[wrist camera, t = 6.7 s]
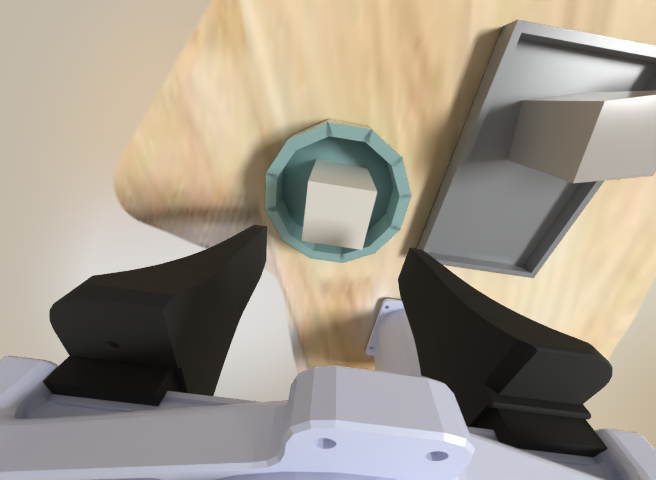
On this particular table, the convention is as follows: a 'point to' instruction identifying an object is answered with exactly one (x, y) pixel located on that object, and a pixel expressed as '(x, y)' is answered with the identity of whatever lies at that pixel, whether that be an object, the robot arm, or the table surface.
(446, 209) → the tray
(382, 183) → the bowl
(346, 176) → the beige rectangular block
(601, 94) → the light gray rectangular block
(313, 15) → the table surface
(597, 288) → the table surface
